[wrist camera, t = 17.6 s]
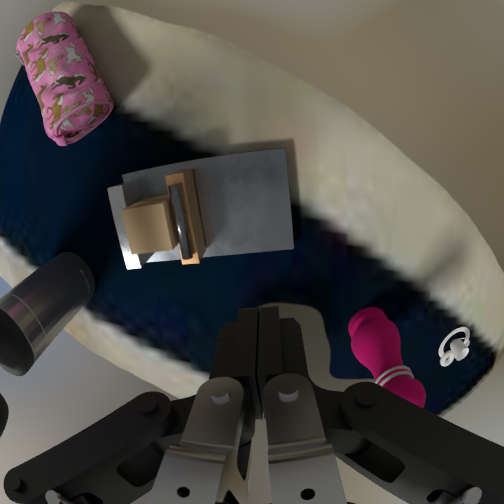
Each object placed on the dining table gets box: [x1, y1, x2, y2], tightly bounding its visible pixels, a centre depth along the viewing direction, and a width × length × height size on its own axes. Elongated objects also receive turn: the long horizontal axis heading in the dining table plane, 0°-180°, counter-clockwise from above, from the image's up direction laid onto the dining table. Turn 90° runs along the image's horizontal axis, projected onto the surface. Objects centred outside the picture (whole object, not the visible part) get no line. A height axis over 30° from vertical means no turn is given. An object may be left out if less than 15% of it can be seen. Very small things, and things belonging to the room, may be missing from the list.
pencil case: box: [15, 12, 114, 146], centre depth 23 cm, size 21×9×9 cm, turn 31°
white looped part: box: [439, 327, 470, 366], centre depth 40 cm, size 9×8×4 cm
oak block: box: [121, 194, 178, 254], centre depth 30 cm, size 5×5×6 cm
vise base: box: [107, 148, 294, 269], centre depth 31 cm, size 20×12×6 cm, turn 97°
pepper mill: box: [348, 307, 426, 408], centre depth 30 cm, size 7×7×20 cm
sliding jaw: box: [165, 169, 206, 264], centre depth 30 cm, size 2×10×5 cm, turn 7°
